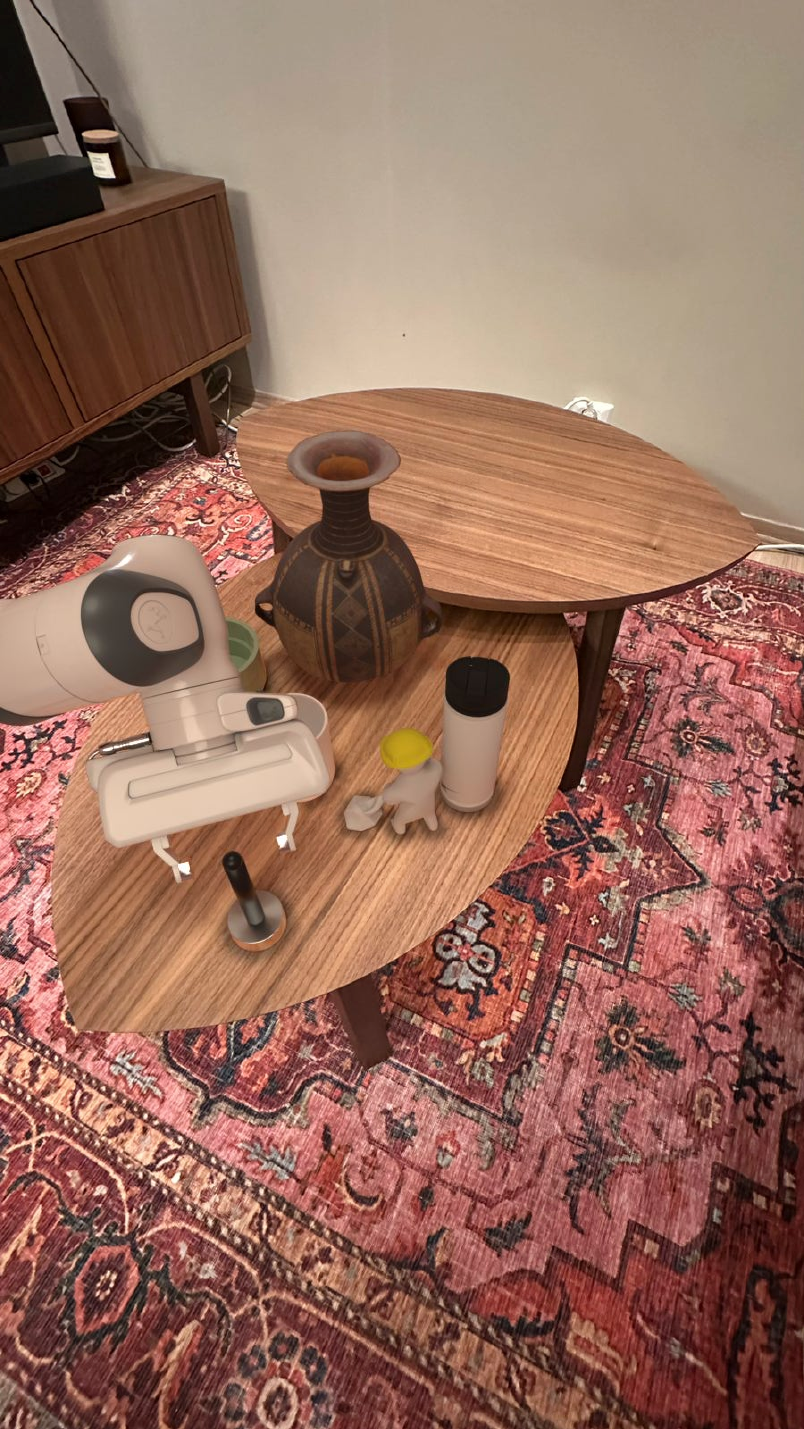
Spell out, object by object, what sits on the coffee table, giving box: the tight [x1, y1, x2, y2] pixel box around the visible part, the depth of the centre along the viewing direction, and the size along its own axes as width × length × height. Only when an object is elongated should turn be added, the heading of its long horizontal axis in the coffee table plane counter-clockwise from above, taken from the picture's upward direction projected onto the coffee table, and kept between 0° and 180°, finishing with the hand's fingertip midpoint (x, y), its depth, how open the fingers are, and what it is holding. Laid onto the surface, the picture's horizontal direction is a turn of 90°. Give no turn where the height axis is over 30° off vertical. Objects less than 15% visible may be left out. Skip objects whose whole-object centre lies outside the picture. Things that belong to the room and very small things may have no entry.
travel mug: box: [439, 655, 511, 813], centre depth 72 cm, size 6×7×20 cm
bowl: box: [225, 616, 268, 692], centre depth 89 cm, size 12×12×6 cm
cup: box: [285, 692, 336, 803], centre depth 77 cm, size 8×12×10 cm
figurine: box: [343, 727, 443, 835], centre depth 72 cm, size 10×9×15 cm
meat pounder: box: [221, 850, 287, 952], centre depth 64 cm, size 6×6×14 cm
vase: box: [254, 429, 443, 684], centre depth 83 cm, size 23×19×30 cm
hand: (238, 865), depth 63 cm, fingers open, 8 cm apart
